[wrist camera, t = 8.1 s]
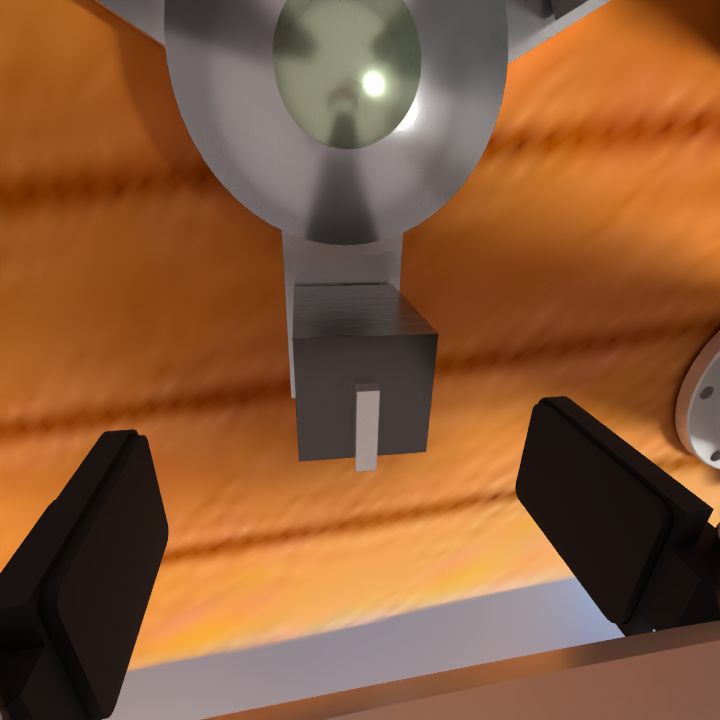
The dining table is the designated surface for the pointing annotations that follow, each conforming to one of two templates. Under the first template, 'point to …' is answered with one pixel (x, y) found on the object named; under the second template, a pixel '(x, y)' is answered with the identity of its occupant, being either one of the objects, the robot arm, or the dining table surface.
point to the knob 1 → (361, 373)
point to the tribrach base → (342, 112)
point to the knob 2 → (565, 6)
